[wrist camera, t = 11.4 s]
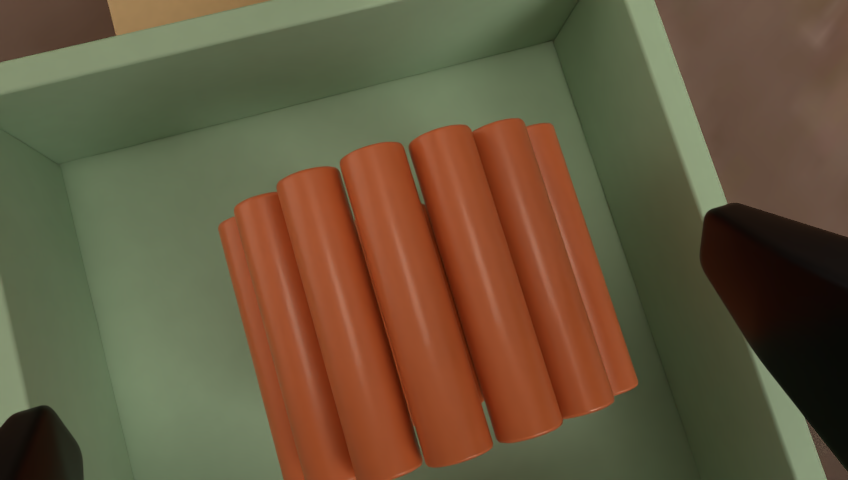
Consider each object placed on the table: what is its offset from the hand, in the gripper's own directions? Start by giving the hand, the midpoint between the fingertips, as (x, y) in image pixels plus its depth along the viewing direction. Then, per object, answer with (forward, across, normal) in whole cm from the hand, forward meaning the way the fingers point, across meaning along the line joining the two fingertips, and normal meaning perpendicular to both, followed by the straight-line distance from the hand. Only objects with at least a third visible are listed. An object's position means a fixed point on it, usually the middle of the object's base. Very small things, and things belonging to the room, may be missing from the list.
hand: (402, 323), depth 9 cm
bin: (+5, 0, +5) cm, 7 cm away
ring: (+3, -1, +2) cm, 4 cm away
